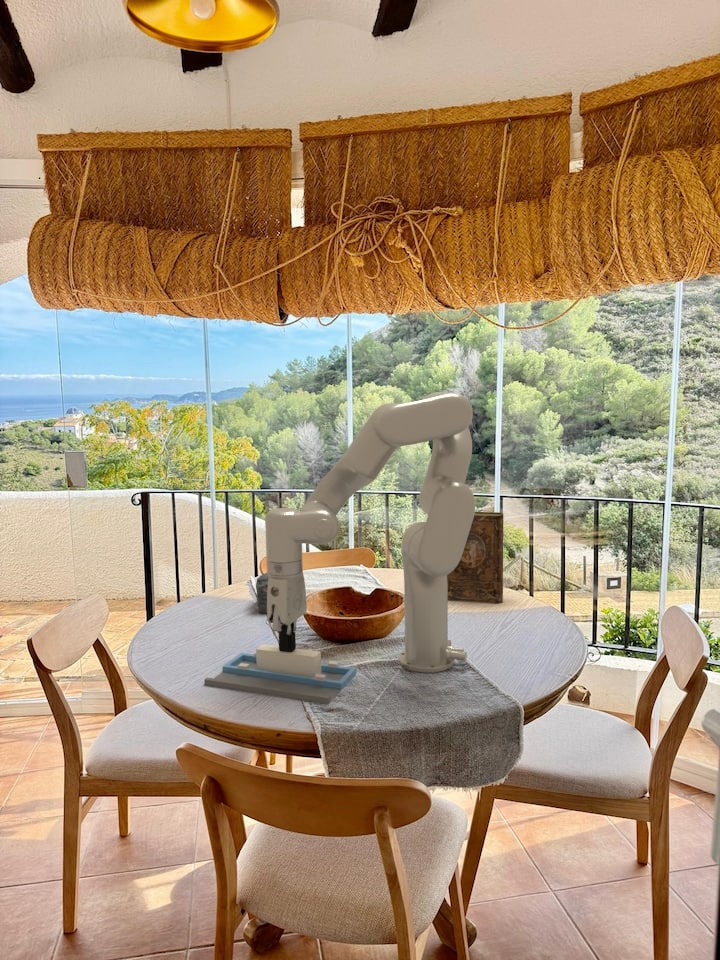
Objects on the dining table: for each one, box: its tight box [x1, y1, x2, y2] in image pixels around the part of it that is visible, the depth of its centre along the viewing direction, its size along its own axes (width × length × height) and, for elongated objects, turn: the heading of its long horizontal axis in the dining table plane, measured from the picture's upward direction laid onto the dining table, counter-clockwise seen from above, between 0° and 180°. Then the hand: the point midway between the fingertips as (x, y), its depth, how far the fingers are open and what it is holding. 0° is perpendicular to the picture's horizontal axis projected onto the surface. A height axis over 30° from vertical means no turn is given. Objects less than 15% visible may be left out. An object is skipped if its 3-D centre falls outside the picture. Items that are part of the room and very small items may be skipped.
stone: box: [255, 572, 269, 614], centre depth 197 cm, size 12×8×10 cm, turn 6°
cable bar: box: [255, 643, 322, 677], centre depth 151 cm, size 14×3×5 cm, turn 69°
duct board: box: [204, 651, 357, 705], centre depth 148 cm, size 28×15×3 cm, turn 69°
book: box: [447, 511, 504, 605], centre depth 199 cm, size 16×6×25 cm, turn 73°
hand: (287, 650), depth 150 cm, fingers closed
